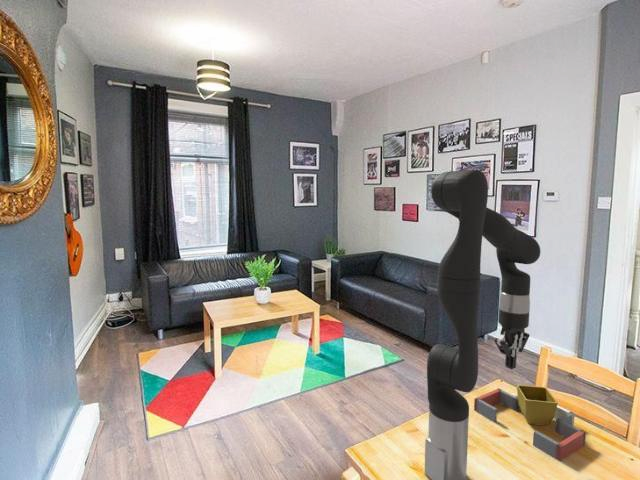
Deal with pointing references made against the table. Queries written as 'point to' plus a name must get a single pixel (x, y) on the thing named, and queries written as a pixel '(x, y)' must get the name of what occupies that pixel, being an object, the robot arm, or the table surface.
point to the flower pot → (536, 404)
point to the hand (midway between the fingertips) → (510, 367)
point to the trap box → (544, 443)
